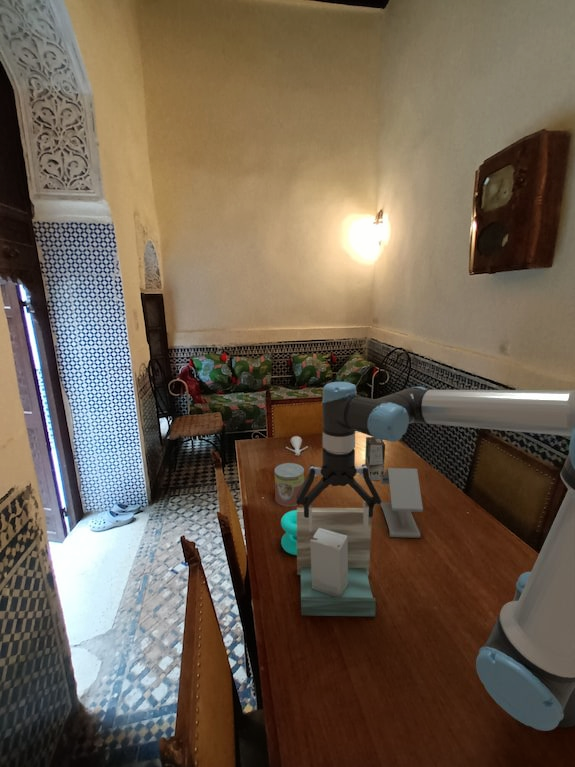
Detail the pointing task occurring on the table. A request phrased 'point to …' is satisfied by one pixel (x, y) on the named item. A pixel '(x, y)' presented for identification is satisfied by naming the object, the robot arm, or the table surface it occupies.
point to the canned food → (288, 483)
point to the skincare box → (329, 562)
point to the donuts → (290, 532)
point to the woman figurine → (296, 445)
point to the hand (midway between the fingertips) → (337, 527)
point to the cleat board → (358, 588)
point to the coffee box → (375, 457)
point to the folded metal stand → (402, 502)
